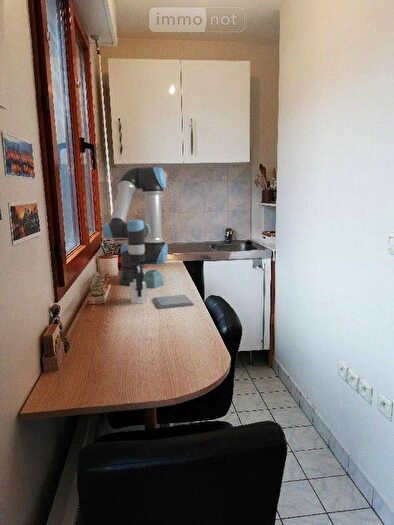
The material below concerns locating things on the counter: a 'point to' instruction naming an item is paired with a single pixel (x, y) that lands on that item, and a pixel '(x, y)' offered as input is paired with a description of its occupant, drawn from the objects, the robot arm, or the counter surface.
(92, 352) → the counter surface
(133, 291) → the plug
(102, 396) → the counter surface
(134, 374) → the counter surface
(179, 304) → the plate
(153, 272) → the teal faceted dome
